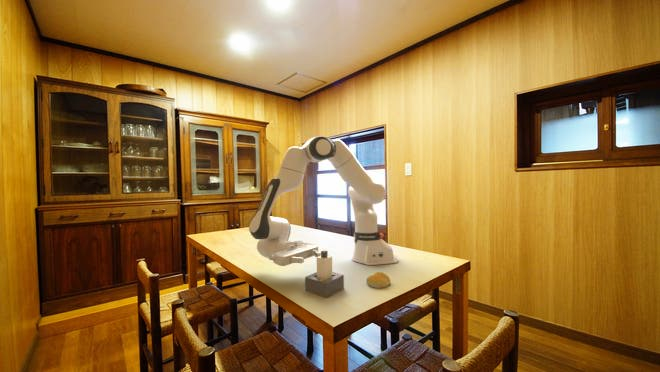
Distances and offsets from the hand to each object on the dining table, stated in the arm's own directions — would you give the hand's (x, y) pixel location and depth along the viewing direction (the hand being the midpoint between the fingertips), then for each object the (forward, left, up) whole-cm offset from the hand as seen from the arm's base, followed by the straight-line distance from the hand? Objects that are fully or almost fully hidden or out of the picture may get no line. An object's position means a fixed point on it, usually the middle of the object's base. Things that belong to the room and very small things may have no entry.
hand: (311, 257), depth 100 cm
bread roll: (-26, 0, -11) cm, 28 cm away
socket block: (-5, +4, -11) cm, 12 cm away
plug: (-5, +4, -10) cm, 11 cm away
